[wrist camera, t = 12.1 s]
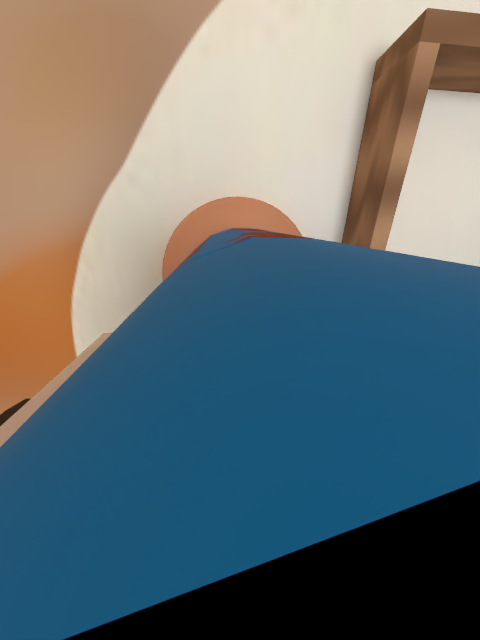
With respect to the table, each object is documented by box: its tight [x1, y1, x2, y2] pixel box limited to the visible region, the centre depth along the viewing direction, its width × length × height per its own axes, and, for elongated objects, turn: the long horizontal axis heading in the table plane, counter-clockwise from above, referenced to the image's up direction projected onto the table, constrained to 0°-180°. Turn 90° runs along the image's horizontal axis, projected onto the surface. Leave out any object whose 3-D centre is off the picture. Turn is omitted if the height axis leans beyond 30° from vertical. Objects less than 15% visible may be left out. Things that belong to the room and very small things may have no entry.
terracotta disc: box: [163, 197, 302, 281], centre depth 25 cm, size 16×16×1 cm
